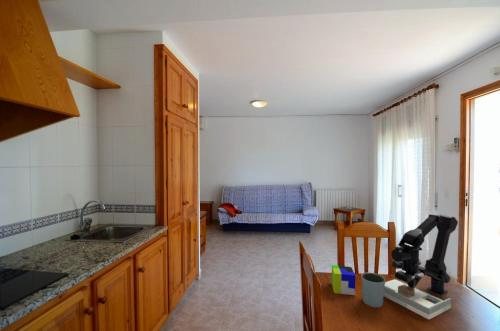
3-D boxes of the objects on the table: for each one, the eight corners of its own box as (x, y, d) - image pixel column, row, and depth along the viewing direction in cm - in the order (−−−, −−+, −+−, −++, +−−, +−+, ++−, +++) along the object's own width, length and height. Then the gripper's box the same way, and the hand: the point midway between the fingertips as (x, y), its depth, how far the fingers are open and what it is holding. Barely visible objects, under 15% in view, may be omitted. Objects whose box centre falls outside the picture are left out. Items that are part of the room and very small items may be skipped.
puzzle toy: (355, 295, 121) (355, 275, 121) (334, 293, 123) (334, 273, 123) (351, 285, 131) (351, 266, 131) (331, 283, 133) (331, 265, 133)
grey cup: (383, 299, 118) (384, 274, 117) (385, 311, 108) (386, 284, 108) (360, 294, 122) (361, 270, 122) (360, 305, 113) (361, 279, 112)
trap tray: (394, 282, 134) (394, 274, 134) (450, 308, 111) (451, 298, 111) (373, 290, 126) (373, 281, 126) (428, 319, 103) (429, 309, 103)
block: (404, 290, 122) (404, 284, 122) (414, 295, 118) (414, 289, 118) (397, 292, 120) (397, 286, 120) (408, 298, 115) (408, 291, 115)
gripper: (406, 250, 132) (405, 279, 132) (384, 256, 123) (383, 287, 123) (429, 258, 122) (428, 289, 122) (407, 265, 113) (406, 298, 113)
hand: (411, 290), depth 120 cm, fingers closed
